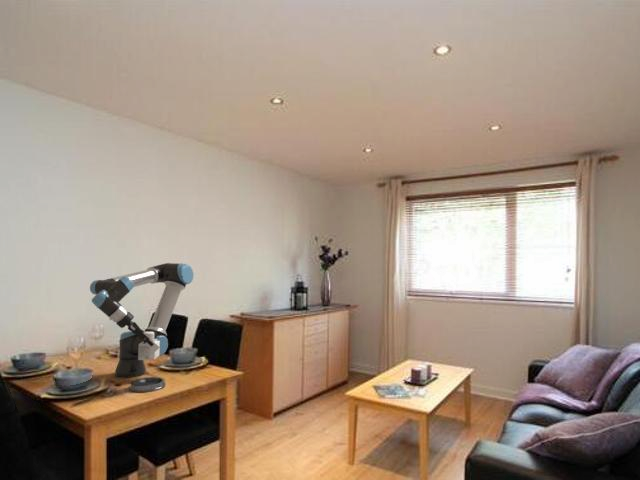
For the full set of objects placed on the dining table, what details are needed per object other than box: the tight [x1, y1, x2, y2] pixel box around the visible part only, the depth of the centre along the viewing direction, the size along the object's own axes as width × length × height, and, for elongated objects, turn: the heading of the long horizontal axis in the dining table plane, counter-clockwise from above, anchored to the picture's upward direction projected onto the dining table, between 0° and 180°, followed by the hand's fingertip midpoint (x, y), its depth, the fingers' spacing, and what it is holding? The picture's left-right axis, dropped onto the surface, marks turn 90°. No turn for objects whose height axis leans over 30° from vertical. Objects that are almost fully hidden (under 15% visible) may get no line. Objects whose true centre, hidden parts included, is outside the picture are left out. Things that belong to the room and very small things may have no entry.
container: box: [138, 330, 160, 361], centre depth 192 cm, size 8×8×13 cm
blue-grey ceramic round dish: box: [129, 376, 166, 393], centre depth 191 cm, size 16×16×3 cm
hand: (156, 347), depth 193 cm, fingers closed on container, 10 cm apart
